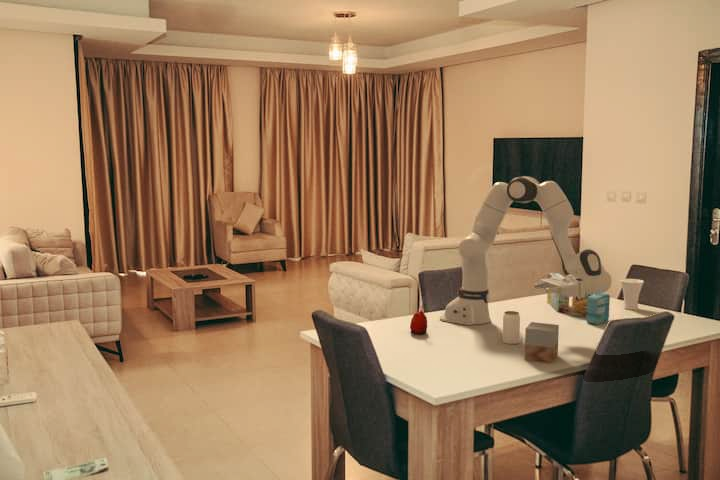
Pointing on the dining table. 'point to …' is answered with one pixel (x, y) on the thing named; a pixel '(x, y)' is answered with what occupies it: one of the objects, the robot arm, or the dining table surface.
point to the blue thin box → (598, 308)
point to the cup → (631, 292)
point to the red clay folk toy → (419, 322)
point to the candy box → (580, 305)
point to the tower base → (541, 353)
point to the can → (511, 327)
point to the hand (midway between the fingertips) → (541, 288)
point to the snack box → (558, 297)
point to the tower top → (541, 334)
